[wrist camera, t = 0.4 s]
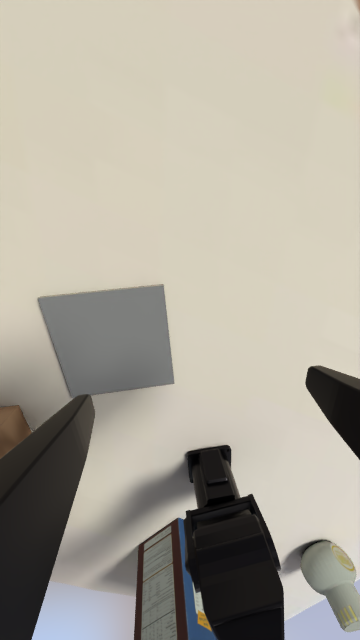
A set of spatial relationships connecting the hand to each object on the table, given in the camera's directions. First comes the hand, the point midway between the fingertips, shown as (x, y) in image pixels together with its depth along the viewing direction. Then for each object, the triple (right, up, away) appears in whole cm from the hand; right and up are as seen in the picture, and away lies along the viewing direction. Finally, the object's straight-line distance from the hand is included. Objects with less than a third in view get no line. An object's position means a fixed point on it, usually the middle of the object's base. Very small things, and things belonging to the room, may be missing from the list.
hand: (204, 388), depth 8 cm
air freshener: (+30, -49, +38) cm, 69 cm away
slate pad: (-8, 0, +14) cm, 16 cm away
